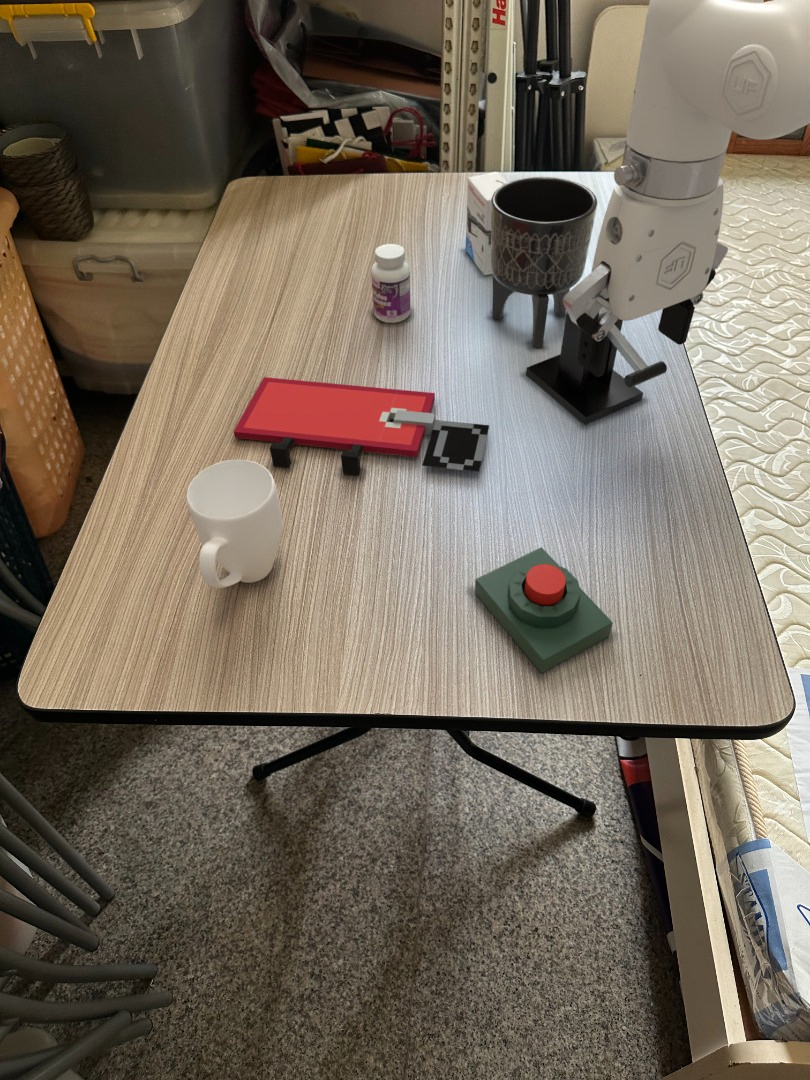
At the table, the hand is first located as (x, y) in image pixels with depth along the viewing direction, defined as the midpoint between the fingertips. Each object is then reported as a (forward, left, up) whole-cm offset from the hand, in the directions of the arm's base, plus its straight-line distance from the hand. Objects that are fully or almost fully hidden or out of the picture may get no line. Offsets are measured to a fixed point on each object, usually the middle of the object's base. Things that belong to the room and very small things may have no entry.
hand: (631, 352), depth 74 cm
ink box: (+49, -18, -18) cm, 55 cm away
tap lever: (+12, -10, -10) cm, 18 cm away
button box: (-10, +16, -18) cm, 26 cm away
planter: (+31, -13, -18) cm, 38 cm away
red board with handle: (+23, +18, -18) cm, 34 cm away
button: (-10, +16, -14) cm, 24 cm away
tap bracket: (+16, -10, -18) cm, 26 cm away
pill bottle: (+44, +2, -18) cm, 47 cm away
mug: (+9, +39, -18) cm, 44 cm away
